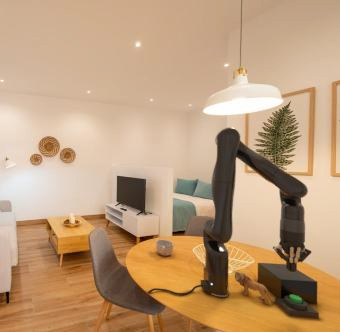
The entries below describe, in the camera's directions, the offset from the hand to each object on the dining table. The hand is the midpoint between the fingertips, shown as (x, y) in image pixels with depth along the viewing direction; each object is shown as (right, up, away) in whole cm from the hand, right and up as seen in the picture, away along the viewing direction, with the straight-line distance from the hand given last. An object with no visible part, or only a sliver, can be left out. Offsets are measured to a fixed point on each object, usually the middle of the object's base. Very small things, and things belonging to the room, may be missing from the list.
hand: (291, 271), depth 87 cm
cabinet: (+7, -15, +11) cm, 20 cm away
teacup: (-34, -15, +51) cm, 63 cm away
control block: (0, -15, -1) cm, 15 cm away
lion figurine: (-10, -15, +8) cm, 20 cm away
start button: (0, -12, -1) cm, 12 cm away
